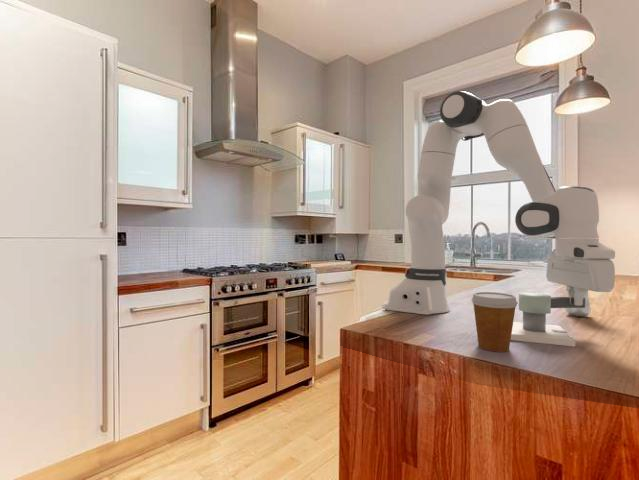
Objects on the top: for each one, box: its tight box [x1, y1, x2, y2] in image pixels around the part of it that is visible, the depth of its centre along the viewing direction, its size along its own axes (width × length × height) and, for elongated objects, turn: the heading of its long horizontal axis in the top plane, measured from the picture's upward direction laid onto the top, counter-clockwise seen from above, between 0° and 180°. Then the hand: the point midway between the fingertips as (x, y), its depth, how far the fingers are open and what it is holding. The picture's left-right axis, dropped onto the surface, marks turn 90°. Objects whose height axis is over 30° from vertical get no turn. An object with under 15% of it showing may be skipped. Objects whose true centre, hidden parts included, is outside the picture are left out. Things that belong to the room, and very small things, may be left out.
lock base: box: [510, 311, 576, 347], centre depth 90 cm, size 14×14×6 cm
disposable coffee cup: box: [470, 291, 519, 353], centre depth 80 cm, size 10×10×12 cm
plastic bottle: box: [564, 290, 591, 318], centre depth 111 cm, size 6×7×20 cm
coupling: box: [518, 292, 585, 315], centre depth 90 cm, size 17×7×4 cm, turn 96°
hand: (576, 304), depth 88 cm, fingers closed
